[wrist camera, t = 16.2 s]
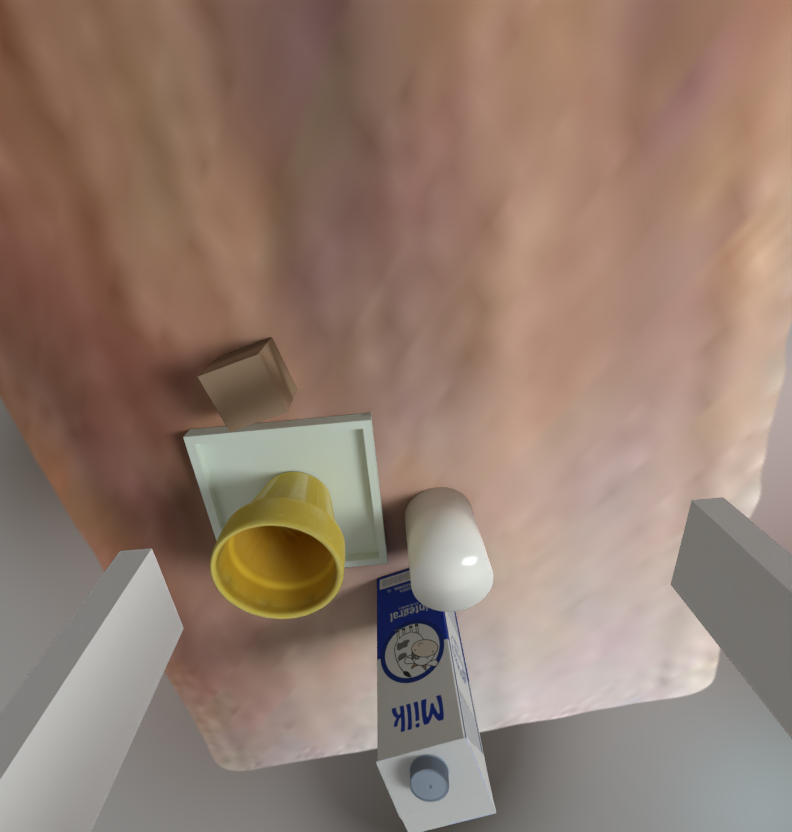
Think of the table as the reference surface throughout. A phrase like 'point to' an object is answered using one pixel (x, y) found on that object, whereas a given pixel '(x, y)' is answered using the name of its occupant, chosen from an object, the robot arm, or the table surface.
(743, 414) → the table surface
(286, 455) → the tray
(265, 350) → the walnut block
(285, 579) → the plant pot
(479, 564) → the white rounded capsule
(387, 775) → the milk carton
